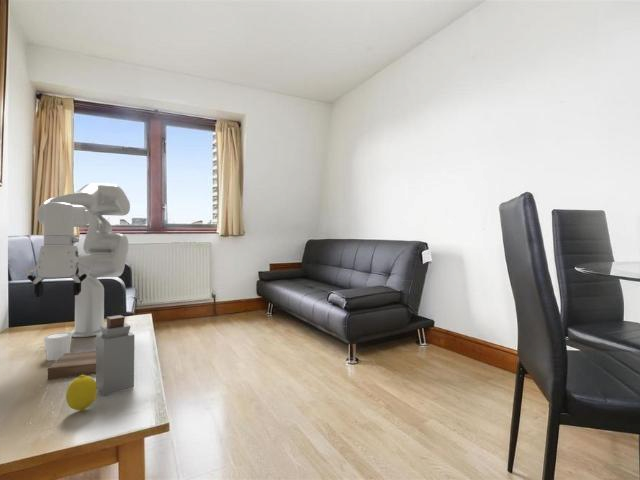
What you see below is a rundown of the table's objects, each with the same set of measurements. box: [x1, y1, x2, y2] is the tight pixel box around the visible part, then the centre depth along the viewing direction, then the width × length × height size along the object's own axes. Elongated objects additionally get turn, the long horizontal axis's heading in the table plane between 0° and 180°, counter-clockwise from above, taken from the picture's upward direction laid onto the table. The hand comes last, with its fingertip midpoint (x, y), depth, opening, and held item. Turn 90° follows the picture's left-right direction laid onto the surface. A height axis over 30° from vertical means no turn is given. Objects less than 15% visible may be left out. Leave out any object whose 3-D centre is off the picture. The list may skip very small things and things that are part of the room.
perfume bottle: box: [95, 314, 135, 397], centre depth 85 cm, size 7×7×18 cm
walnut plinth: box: [47, 350, 96, 380], centre depth 97 cm, size 12×12×3 cm
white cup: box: [43, 332, 72, 362], centre depth 105 cm, size 7×7×7 cm
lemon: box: [65, 375, 98, 413], centre depth 73 cm, size 6×6×8 cm
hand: (58, 295), depth 105 cm, fingers open, 9 cm apart
